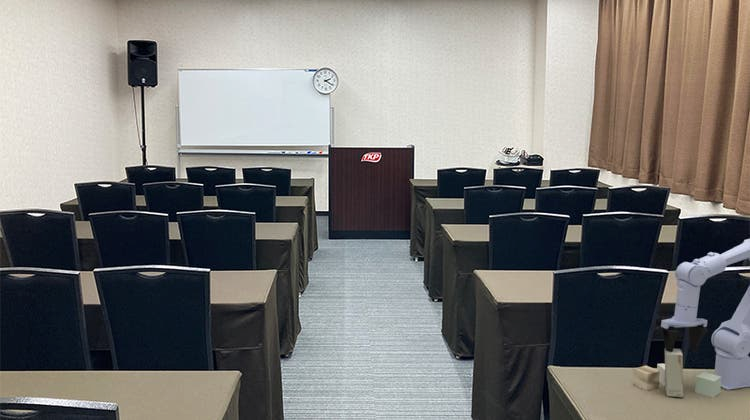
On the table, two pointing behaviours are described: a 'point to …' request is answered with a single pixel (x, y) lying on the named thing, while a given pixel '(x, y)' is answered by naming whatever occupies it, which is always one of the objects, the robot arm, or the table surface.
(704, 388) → the cube sage
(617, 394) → the table surface
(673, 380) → the skincare box
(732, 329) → the robot arm
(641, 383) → the cube beech
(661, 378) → the cube cream
